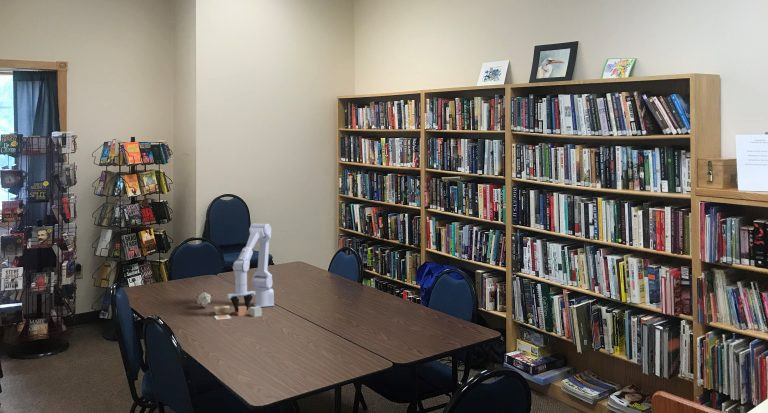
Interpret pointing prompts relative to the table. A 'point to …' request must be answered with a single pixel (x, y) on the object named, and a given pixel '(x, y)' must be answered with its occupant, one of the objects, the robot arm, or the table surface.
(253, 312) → the grey block
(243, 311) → the terracotta block
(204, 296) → the game die
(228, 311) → the maple block
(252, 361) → the table surface
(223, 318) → the tile
